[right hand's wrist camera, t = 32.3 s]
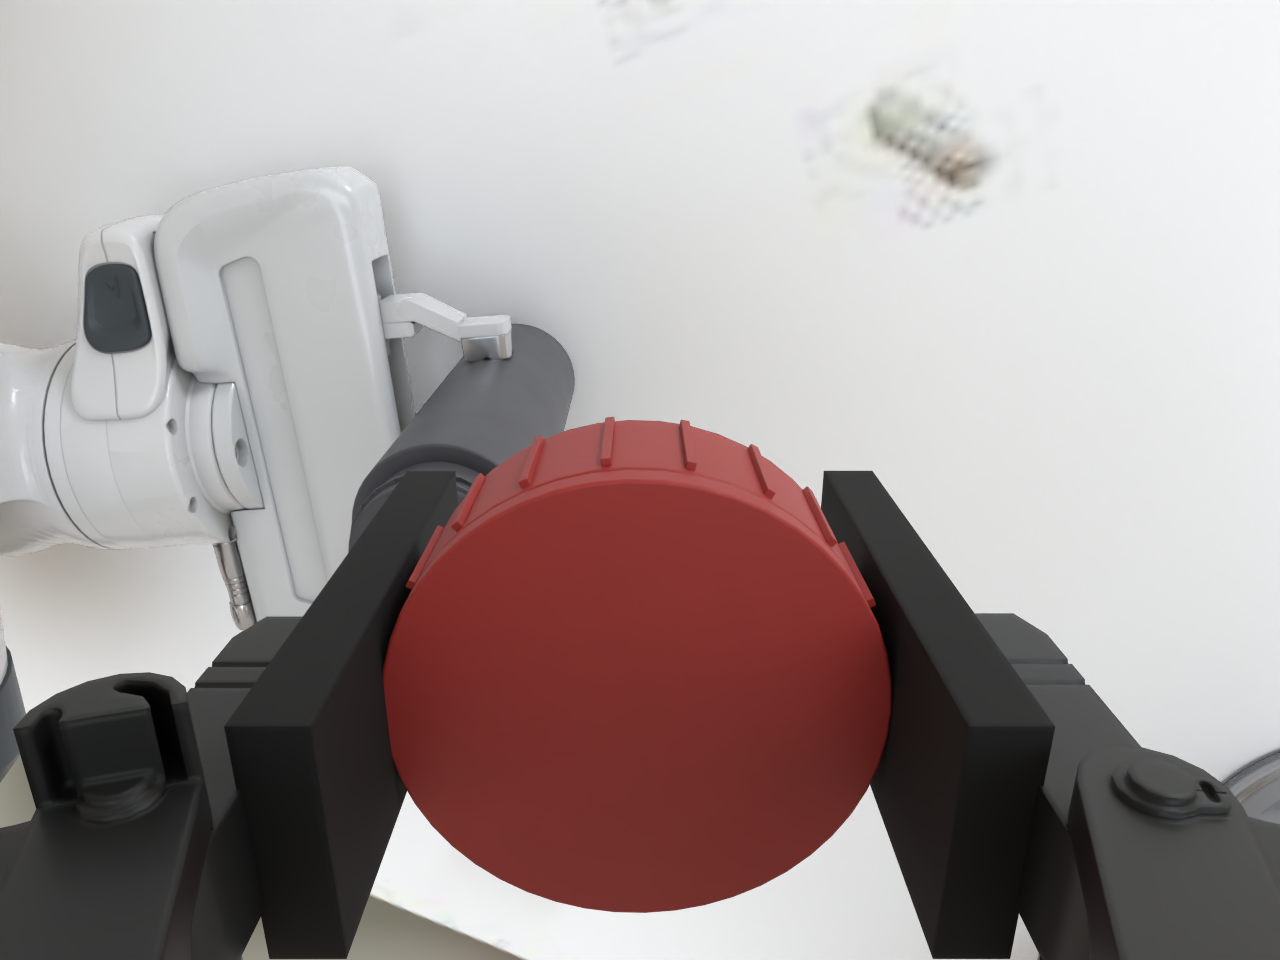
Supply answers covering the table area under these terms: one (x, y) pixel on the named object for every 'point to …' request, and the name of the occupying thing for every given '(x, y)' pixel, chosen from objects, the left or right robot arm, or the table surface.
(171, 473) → the left robot arm
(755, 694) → the lid
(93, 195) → the table surface
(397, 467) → the jar
